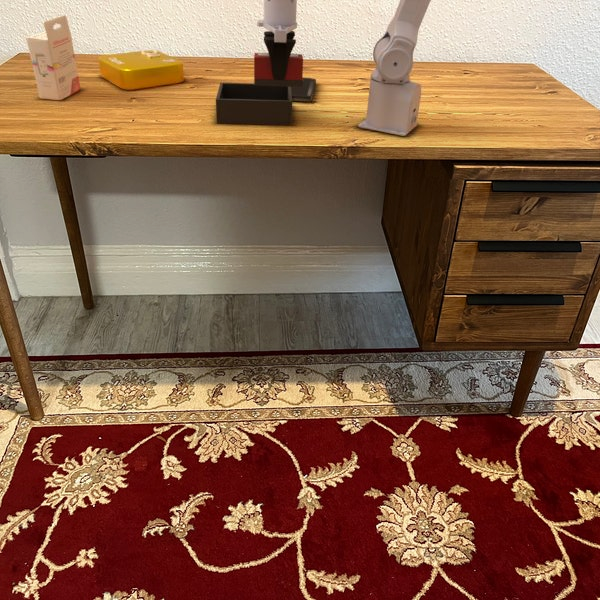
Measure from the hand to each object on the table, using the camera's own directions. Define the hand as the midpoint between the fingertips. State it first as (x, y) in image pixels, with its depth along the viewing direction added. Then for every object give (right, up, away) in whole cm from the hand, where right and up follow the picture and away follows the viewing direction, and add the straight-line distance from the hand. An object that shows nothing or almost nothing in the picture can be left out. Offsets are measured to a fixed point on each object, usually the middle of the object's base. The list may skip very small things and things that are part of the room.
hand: (278, 76), depth 110 cm
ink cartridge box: (-46, +1, +14) cm, 48 cm away
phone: (+3, +5, +22) cm, 23 cm away
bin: (-5, -5, +8) cm, 10 cm away
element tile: (-32, +9, +26) cm, 42 cm away
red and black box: (0, -1, +1) cm, 1 cm away
